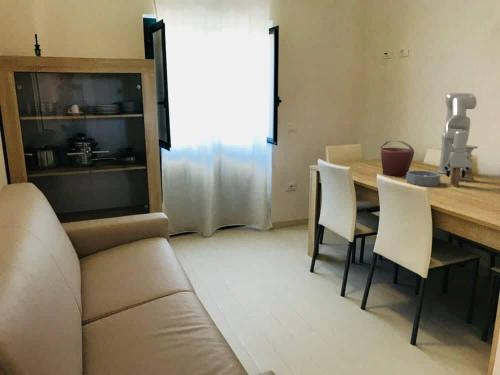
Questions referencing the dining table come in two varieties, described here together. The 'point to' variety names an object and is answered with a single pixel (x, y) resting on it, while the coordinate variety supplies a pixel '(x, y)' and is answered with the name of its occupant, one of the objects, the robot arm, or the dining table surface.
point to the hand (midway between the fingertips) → (455, 176)
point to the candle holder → (468, 176)
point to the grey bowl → (423, 178)
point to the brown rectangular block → (455, 176)
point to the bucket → (396, 160)
